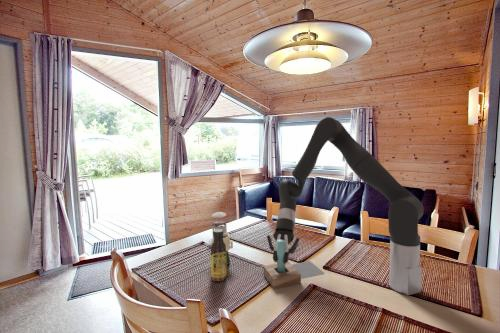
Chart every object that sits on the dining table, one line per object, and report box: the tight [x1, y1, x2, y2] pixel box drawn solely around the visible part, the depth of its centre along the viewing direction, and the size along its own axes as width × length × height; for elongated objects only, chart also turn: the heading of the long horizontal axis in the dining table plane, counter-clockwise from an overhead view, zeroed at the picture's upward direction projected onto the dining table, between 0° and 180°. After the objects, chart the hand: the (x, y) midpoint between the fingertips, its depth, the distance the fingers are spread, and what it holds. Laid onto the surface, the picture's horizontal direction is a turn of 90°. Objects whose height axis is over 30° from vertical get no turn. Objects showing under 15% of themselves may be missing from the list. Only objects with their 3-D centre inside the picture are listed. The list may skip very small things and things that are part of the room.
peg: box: [276, 239, 285, 274], centre depth 106 cm, size 3×3×14 cm
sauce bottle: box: [210, 229, 227, 282], centre depth 108 cm, size 7×6×20 cm
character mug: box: [211, 233, 234, 266], centre depth 121 cm, size 11×7×13 cm, turn 63°
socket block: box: [262, 261, 302, 290], centre depth 107 cm, size 11×11×4 cm
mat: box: [291, 260, 326, 280], centre depth 114 cm, size 12×12×1 cm
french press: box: [208, 194, 228, 241], centre depth 151 cm, size 10×12×25 cm
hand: (280, 262), depth 104 cm, fingers closed on peg, 3 cm apart
